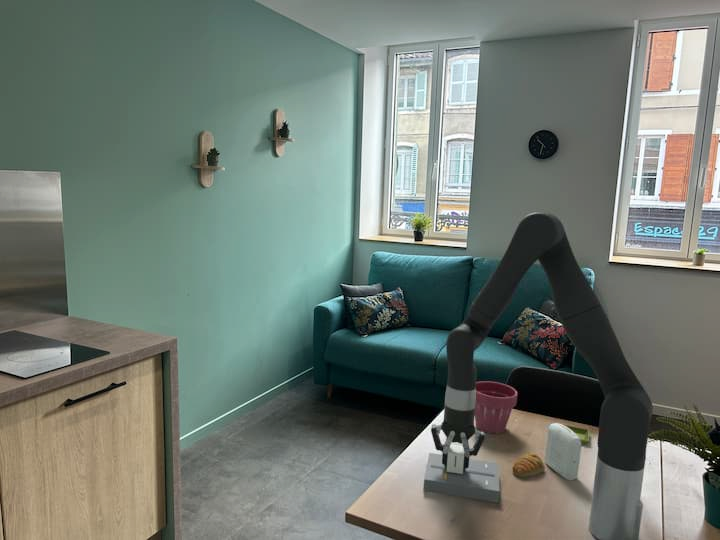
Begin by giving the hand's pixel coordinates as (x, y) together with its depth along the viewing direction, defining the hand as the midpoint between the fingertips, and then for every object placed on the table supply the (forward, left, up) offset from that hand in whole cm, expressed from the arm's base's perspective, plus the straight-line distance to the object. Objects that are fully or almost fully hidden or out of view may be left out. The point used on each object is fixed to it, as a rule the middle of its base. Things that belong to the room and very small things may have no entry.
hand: (455, 466), depth 136 cm
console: (-2, 0, -4) cm, 4 cm away
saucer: (-35, -37, -4) cm, 51 cm away
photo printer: (-28, -14, -4) cm, 31 cm away
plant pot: (-10, -36, -4) cm, 38 cm away
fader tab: (0, 0, 0) cm, 0 cm away
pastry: (-19, -11, -4) cm, 23 cm away
